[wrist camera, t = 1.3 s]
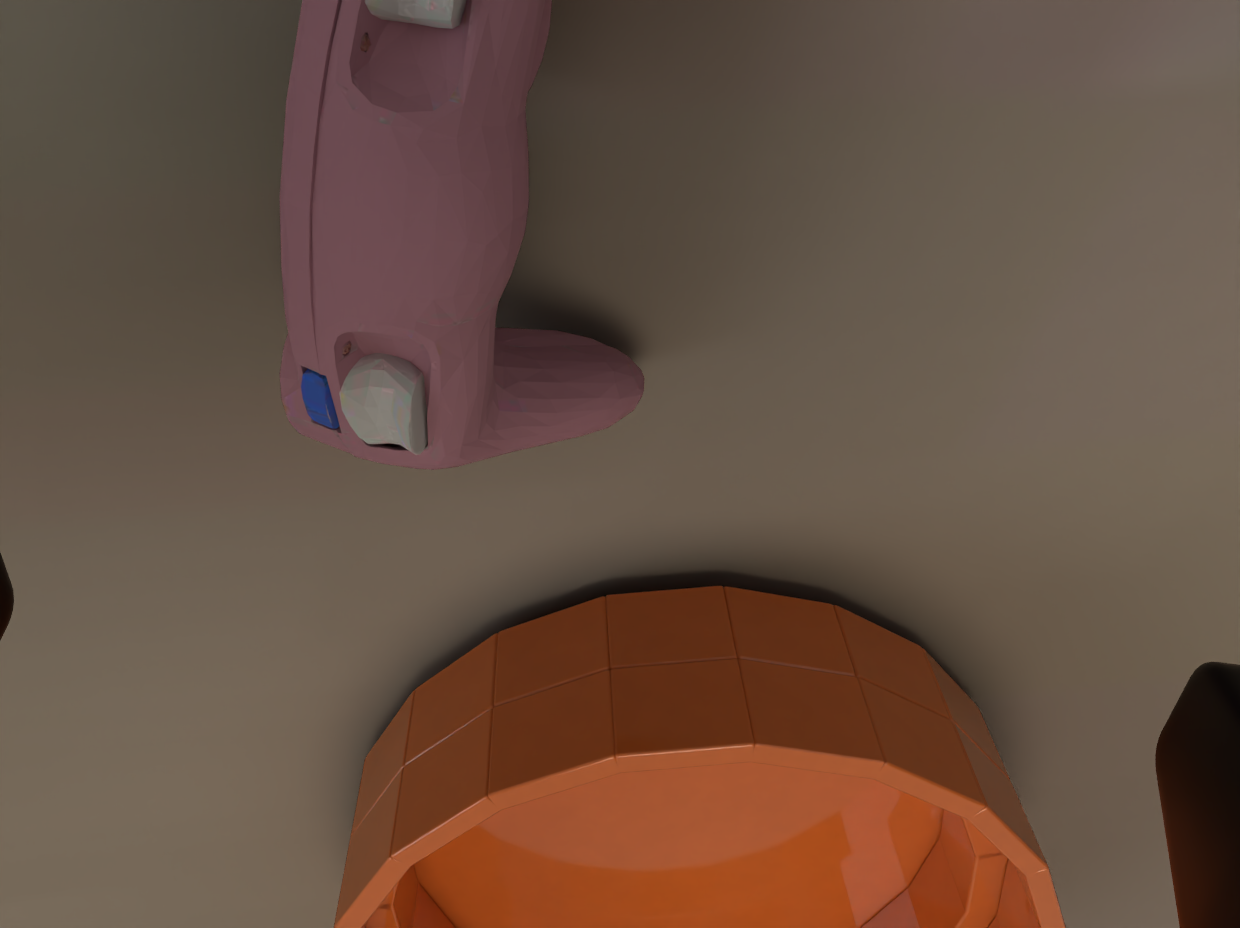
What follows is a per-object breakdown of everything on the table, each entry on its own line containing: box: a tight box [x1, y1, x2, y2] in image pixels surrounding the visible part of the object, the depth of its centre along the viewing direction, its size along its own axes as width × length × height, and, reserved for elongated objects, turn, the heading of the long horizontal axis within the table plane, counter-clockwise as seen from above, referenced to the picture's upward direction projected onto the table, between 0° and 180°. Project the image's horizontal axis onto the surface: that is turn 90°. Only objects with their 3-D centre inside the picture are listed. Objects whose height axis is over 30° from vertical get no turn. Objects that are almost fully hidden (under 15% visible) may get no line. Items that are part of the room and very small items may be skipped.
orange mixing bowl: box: [334, 585, 1066, 928], centre depth 26 cm, size 16×16×5 cm
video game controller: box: [280, 0, 644, 470], centre depth 16 cm, size 10×5×7 cm, turn 169°
